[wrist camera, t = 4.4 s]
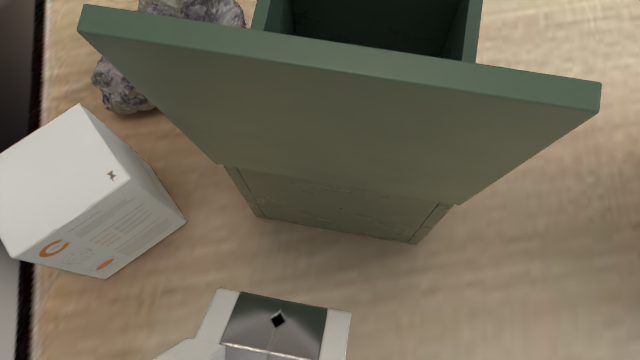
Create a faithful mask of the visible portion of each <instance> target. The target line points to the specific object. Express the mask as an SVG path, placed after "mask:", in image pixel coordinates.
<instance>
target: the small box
mask: <svg viewBox="0 0 640 360" xmlns="http://www.w3.org/2000/svg"><path fill="white" fill-rule="evenodd" d="M186 222H187V220H186V219H185V217H184V216H183V214H182V213H181V211H180V210H179V208H178V207H177V205H176V204H175V202H174V201H173V200H172V198H171V197H170V195H169V194H168V192H167V191H166V189H165V188H164V186H163V185H162V183H161V182H160V180H159V179H158V177H157V176H156V174H155V173H154V171H153V170H152V168H151V167H150V165H149V164H148V163H147V162H146V161H145V160H144V159H143V158H141V157H140V156H139V155H138V154H137V153H136V152H135V151H134V150H133V149H132V148H131V147H129V146H128V145H127V144H126V143H125V142H124V141H122V140H121V139H120V138H119V137H118V136H117V135H116V134H114V133H113V132H112V131H111V130H110V129H109V128H108V127H107V126H105V125H104V124H103V123H102V122H101V121H100V120H99V119H97V118H96V117H95V116H94V115H93V114H92V113H91V112H89V111H88V110H87V109H86V108H85V107H83V106H82V105H81V104H80V103H77V104H75V105H74V106H72V107H71V108H69V109H68V110H66V111H65V112H63V113H62V114H60V115H59V116H57V117H55V118H54V119H52V120H51V121H49V122H48V123H46V124H45V125H43V126H42V127H40V128H39V129H37V130H35V131H34V132H32V133H31V134H29V135H28V136H26V137H25V138H23V139H22V140H20V141H19V142H17V143H16V144H14V145H12V146H11V147H9V148H8V149H6V150H5V151H3V152H2V153H0V239H1V241H2V243H3V244H4V246H5V248H6V250H7V251H8V254H9V255H10V257H11V258H14V259H18V260H23V261H27V262H31V263H36V264H40V265H44V266H48V267H52V268H57V269H61V270H66V271H69V272H73V273H78V274H82V275H86V276H90V277H95V278H99V279H103V280H105V279H107V278H108V277H110V276H111V275H113V274H114V273H116V272H117V271H118V270H120V269H121V268H123V267H124V266H126V265H127V264H129V263H130V262H131V261H133V260H134V259H136V258H137V257H138V256H140V255H141V254H143V253H144V252H146V251H147V250H148V249H150V248H151V247H153V246H154V245H156V244H157V243H158V242H160V241H161V240H163V239H164V238H165V237H167V236H168V235H170V234H171V233H172V232H174V231H175V230H177V229H178V228H179V227H181V226H182V225H183V224H185V223H186Z"/></svg>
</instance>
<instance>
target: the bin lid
mask: <svg viewBox="0 0 640 360" xmlns="http://www.w3.org/2000/svg"><path fill="white" fill-rule="evenodd" d="M77 32H78V33H79V34H80V35H81V36H82V37H83V38H85V39H86V40H87V41H88V42H89V43H90V44H91V45H92V46H93V47H94V48H95V49H96V50H97V51H98V52H99V53H100V54H101V55H102V56H103V57H104V58H105V59H107V60H108V61H109V62H110V63H111V64H112V65H113V66H114V67H115V68H116V69H117V70H118V71H119V72H120V73H121V74H122V75H123V76H124V77H125V78H126V79H127V80H129V81H130V82H131V83H132V84H133V85H134V86H135V87H136V88H137V89H138V90H139V91H140V92H141V93H142V94H143V95H144V96H145V97H146V98H147V99H148V100H149V101H151V102H152V103H153V104H154V105H155V106H156V107H157V108H158V109H159V110H160V111H161V112H162V113H163V114H164V115H165V116H166V117H167V118H168V119H169V120H170V121H171V122H173V123H174V124H175V125H176V126H177V127H178V128H179V129H180V130H181V131H182V132H183V133H184V134H185V135H186V136H187V137H188V138H189V139H190V140H191V141H192V142H193V143H195V144H196V145H197V146H198V147H199V148H200V149H201V150H202V151H203V152H204V153H205V154H206V155H207V156H208V157H209V158H210V159H211V160H212V161H213V162H214V163H216V164H220V165H226V166H231V167H237V168H243V169H249V170H255V171H261V172H267V173H272V174H278V175H284V176H290V177H296V178H302V179H308V180H314V181H319V182H325V183H331V184H337V185H343V186H349V187H355V188H360V189H366V190H372V191H378V192H384V193H390V194H396V195H401V196H407V197H413V198H419V199H425V200H431V201H437V202H442V203H448V204H454V205H461V204H462V203H464V202H465V201H467V200H468V199H470V198H471V197H473V196H474V195H476V194H477V193H479V192H480V191H482V190H483V189H485V188H486V187H488V186H489V185H491V184H492V183H494V182H495V181H497V180H498V179H500V178H501V177H503V176H504V175H506V174H507V173H509V172H510V171H512V170H513V169H515V168H516V167H518V166H519V165H521V164H522V163H524V162H525V161H527V160H528V159H530V158H531V157H533V156H534V155H536V154H537V153H539V152H540V151H542V150H543V149H545V148H546V147H548V146H549V145H551V144H552V143H554V142H555V141H557V140H558V139H560V138H561V137H563V136H564V135H566V134H567V133H569V132H570V131H572V130H573V129H575V128H576V127H578V126H579V125H581V124H582V123H584V122H585V121H587V120H589V119H590V118H592V117H593V116H595V115H596V114H598V112H599V108H600V98H601V87H602V84H601V83H600V82H595V81H588V80H582V79H575V78H569V77H562V76H555V75H549V74H542V73H536V72H529V71H523V70H516V69H510V68H503V67H496V66H490V65H483V64H477V63H470V62H464V61H457V60H451V59H444V58H437V57H431V56H424V55H418V54H411V53H405V52H398V51H392V50H385V49H378V48H372V47H365V46H359V45H352V44H346V43H339V42H333V41H326V40H319V39H313V38H306V37H300V36H293V35H287V34H280V33H274V32H267V31H260V30H254V29H247V28H241V27H234V26H228V25H221V24H215V23H208V22H201V21H195V20H188V19H182V18H175V17H169V16H162V15H156V14H149V13H142V12H136V11H129V10H123V9H116V8H110V7H103V6H96V5H90V4H84V5H83V9H82V12H81V16H80V20H79V23H78V27H77Z"/></svg>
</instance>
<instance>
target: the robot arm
mask: <svg viewBox="0 0 640 360" xmlns="http://www.w3.org/2000/svg"><path fill="white" fill-rule="evenodd" d="M327 310H328V312H327ZM326 317H327V318H326ZM350 320H351V313H350V312H349V311H343V310H337V309H331V308H329V309H328V308H324V307H318V306H313V305H307V304H302V303H296V302H291V301H284V300H280V299H275V298H270V297H265V296H261V295H256V294H251V293H247V292H239V291H235V290H230V289H226V288H221V287H220V288H219V289H218V290H217V291H216V292H215V294H214V296H213V298H212V300H211V303H210V305H209V307H208V309H207V311H206V313H205V315H204V318H203V320H202V322H201V324H200V326H199V328H198V330H197V333H196V335H195V337H194V339H190V338H186V339H184V340H183V341H181V342H179V343H178V344H176V345H175V346H173V347H171V348H170V349H168V350H166V351H165V352H163V353H161V354H160V355H158V356H157V357H155V358H153V359H152V360H345V358H346V350H347V343H348V335H349V328H350Z"/></svg>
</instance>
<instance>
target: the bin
mask: <svg viewBox="0 0 640 360" xmlns="http://www.w3.org/2000/svg"><path fill="white" fill-rule="evenodd" d="M482 4H483V0H257V3H256V8H255V12H254V16H253V20H252V24H251V28H250V29H254V30H260V31H267V32H274V33H280V34H287V35H293V36H300V37H306V38H313V39H319V40H326V41H333V42H339V43H346V44H352V45H359V46H365V47H372V48H378V49H385V50H392V51H398V52H405V53H411V54H418V55H424V56H431V57H437V58H444V59H451V60H457V61H464V62H470V63H475V62H476V53H477V45H478V37H479V29H480V20H481V12H482ZM223 166H224V168H225V169H226V171H227V172H228V174H229V175H230V177H231V178H232V180H233V182H234V183H235V185H236V186H237V188H238V189H239V191H240V192H241V194H242V195H243V197H244V198H245V200H246V201H247V203H248V205H249V206H250V208H251V209H252V211H253V212H254V214H255V215H256V216H257V217H262V218H268V219H273V220H279V221H285V222H290V223H296V224H302V225H307V226H313V227H319V228H324V229H330V230H336V231H341V232H347V233H353V234H358V235H364V236H370V237H375V238H381V239H387V240H392V241H398V242H404V243H409V244H415V245H417V244H418V243H419V242H420V241H421V240H422V239H423V238H424V236H425V235H426V234H427V233H428V232H429V231H430V230H431V229H432V228H433V227H434V226H435V225H436V224H437V223H438V222H439V220H440V219H441V218H442V217H443V216H444V215H445V214H446V213H447V212H448V211H449V210H450V209H451V208H452V207H453V206H454V204H448V203H442V202H437V201H431V200H425V199H419V198H413V197H407V196H401V195H396V194H390V193H384V192H378V191H372V190H366V189H360V188H355V187H349V186H343V185H337V184H331V183H325V182H319V181H314V180H308V179H302V178H296V177H290V176H284V175H278V174H272V173H267V172H261V171H255V170H249V169H243V168H237V167H231V166H226V165H223Z"/></svg>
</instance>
